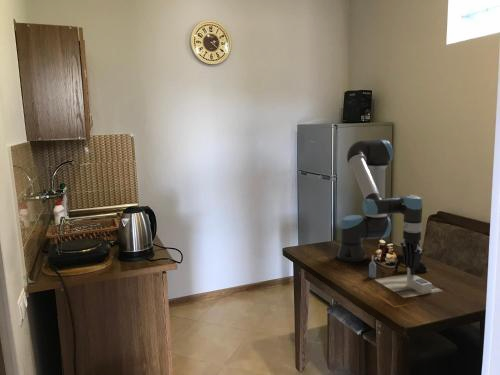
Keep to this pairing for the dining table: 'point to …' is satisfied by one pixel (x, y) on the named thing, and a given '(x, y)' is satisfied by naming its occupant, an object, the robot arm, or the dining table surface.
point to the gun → (400, 260)
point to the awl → (372, 268)
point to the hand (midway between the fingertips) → (410, 280)
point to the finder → (419, 284)
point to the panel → (402, 286)
